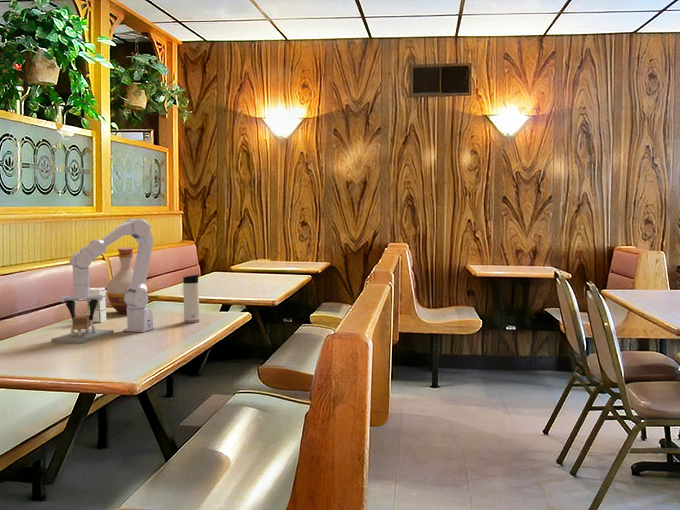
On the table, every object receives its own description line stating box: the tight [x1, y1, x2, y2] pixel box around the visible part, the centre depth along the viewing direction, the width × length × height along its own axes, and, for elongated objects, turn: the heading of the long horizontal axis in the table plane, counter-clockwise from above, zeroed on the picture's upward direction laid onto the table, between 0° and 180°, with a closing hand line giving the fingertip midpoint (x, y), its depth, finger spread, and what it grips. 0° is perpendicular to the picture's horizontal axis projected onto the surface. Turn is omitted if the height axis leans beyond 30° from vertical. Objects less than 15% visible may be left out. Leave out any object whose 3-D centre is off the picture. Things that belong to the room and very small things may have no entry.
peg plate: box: [51, 324, 115, 345], centre depth 252 cm, size 12×20×4 cm, turn 162°
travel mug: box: [182, 274, 200, 324], centre depth 282 cm, size 6×7×20 cm
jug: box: [105, 246, 148, 315], centre depth 308 cm, size 20×18×30 cm
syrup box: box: [86, 287, 107, 324], centre depth 285 cm, size 6×6×14 cm
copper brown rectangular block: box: [71, 312, 94, 331], centre depth 252 cm, size 12×5×4 cm, turn 11°
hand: (82, 320), depth 251 cm, fingers open, 6 cm apart
